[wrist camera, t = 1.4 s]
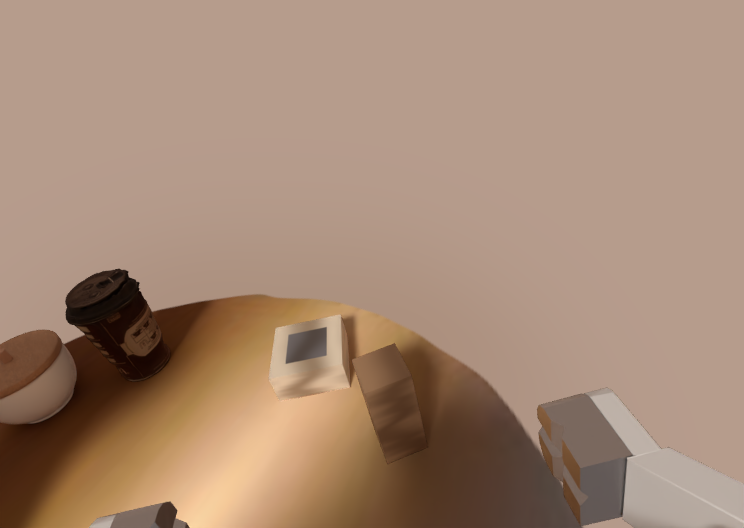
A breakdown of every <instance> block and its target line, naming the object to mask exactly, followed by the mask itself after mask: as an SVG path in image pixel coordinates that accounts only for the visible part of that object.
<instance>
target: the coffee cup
mask: <svg viewBox="0 0 744 528" xmlns="http://www.w3.org/2000/svg"><path fill="white" fill-rule="evenodd" d="M138 287H139V282H136V280H135V279H132V278H129V276H128V271H126V270H121V269H115V270H111V271H103V272H100V273H97V274H94V275H92V276H90V277H88V278H87V279H85V280H84V281H82V282H80V283H79V284H77V285H76V286H75V287H74V288H73V289H72V290H71V291H70V292H69V293H68V295H67V297H66V301H65V302H66V305H67V309H66V320H67V321H68V323H69V324H72V325H75V326H76V327H77V328H79V329H80V330H81V331H82V332H83V333H84V334H85V335H86V337H87V338H88V339H89V340H90V341H91V342H92V343H93V344H94V345H95V346H96V347H97V348H98V349H99V350H100V352H101V353H102V354H103V355H104V356H105V357H106V358H107V359H108V360H109V362H110V363H112V364H114V365H115V366H116V367H117V369H118V370H119V371H120V373H121V375H122V376H123V377H124V378H126V379H127V380H130V381H140V380H144V379H147V378H149V377H150V376H152V375H154V374H155V373H157V372H158V371H159V370H160V369H161V368H162V367H163V366H164V365H165V364H166V362H167V361H168V359H169V357H170V350H169V348H168V346H167V345H166V344H164V342H163V339H162V333H161V330H160V328H159V326H158V324H157V322H156V320H155V319H154V316H153V313H152V311H151V309H150V307H149V306H148V304H147V301H146V300H145V299H144V298H143V296H142V294H141V292H140V291H139V288H138Z"/></svg>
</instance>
